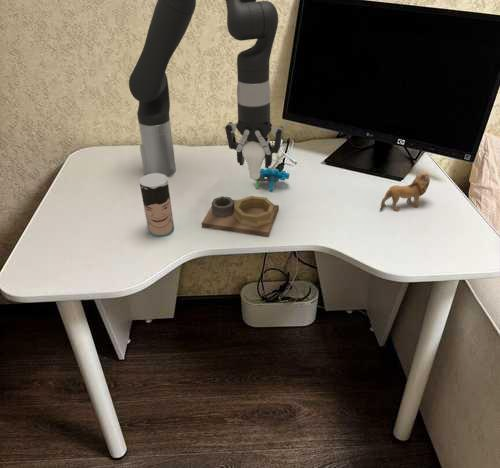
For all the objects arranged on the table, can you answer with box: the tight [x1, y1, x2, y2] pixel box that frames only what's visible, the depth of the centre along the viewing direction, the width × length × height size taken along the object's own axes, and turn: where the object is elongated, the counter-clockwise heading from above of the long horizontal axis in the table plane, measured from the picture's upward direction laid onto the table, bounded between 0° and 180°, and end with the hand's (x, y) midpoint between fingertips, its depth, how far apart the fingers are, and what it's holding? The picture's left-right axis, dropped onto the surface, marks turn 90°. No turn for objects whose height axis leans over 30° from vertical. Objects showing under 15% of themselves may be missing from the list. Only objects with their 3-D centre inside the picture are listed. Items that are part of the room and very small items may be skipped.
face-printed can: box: [139, 173, 175, 239], centre depth 116 cm, size 7×7×15 cm
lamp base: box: [201, 195, 280, 238], centre depth 123 cm, size 18×13×4 cm
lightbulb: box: [242, 140, 266, 181], centre depth 113 cm, size 6×6×11 cm
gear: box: [255, 167, 290, 192], centre depth 136 cm, size 11×6×10 cm
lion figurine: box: [379, 172, 431, 212], centre depth 126 cm, size 15×5×9 cm, turn 113°
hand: (254, 165), depth 114 cm, fingers closed on lightbulb, 6 cm apart
